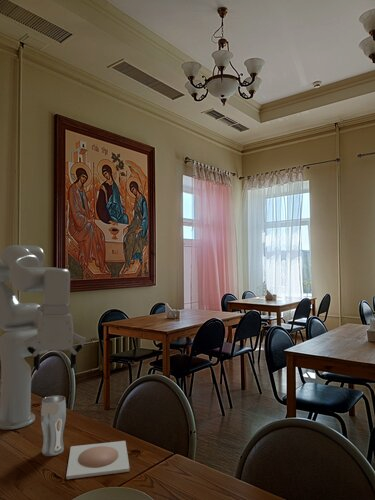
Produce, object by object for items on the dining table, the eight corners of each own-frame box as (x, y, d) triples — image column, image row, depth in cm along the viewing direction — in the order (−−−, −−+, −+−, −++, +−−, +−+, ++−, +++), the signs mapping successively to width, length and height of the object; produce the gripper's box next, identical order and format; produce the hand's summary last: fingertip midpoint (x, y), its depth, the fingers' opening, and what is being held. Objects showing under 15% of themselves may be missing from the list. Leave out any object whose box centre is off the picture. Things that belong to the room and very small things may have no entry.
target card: (70, 449, 111) (70, 445, 111) (125, 443, 115) (125, 439, 115) (66, 479, 96) (66, 474, 96) (129, 471, 99) (129, 467, 99)
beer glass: (34, 453, 109) (35, 401, 109) (53, 443, 115) (54, 393, 115) (52, 459, 105) (53, 405, 106) (70, 448, 111) (71, 397, 112)
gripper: (22, 312, 106) (21, 373, 105) (86, 311, 110) (84, 370, 109) (27, 309, 113) (26, 366, 112) (86, 308, 117) (85, 363, 117)
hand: (55, 368), depth 111 cm, fingers open, 9 cm apart
